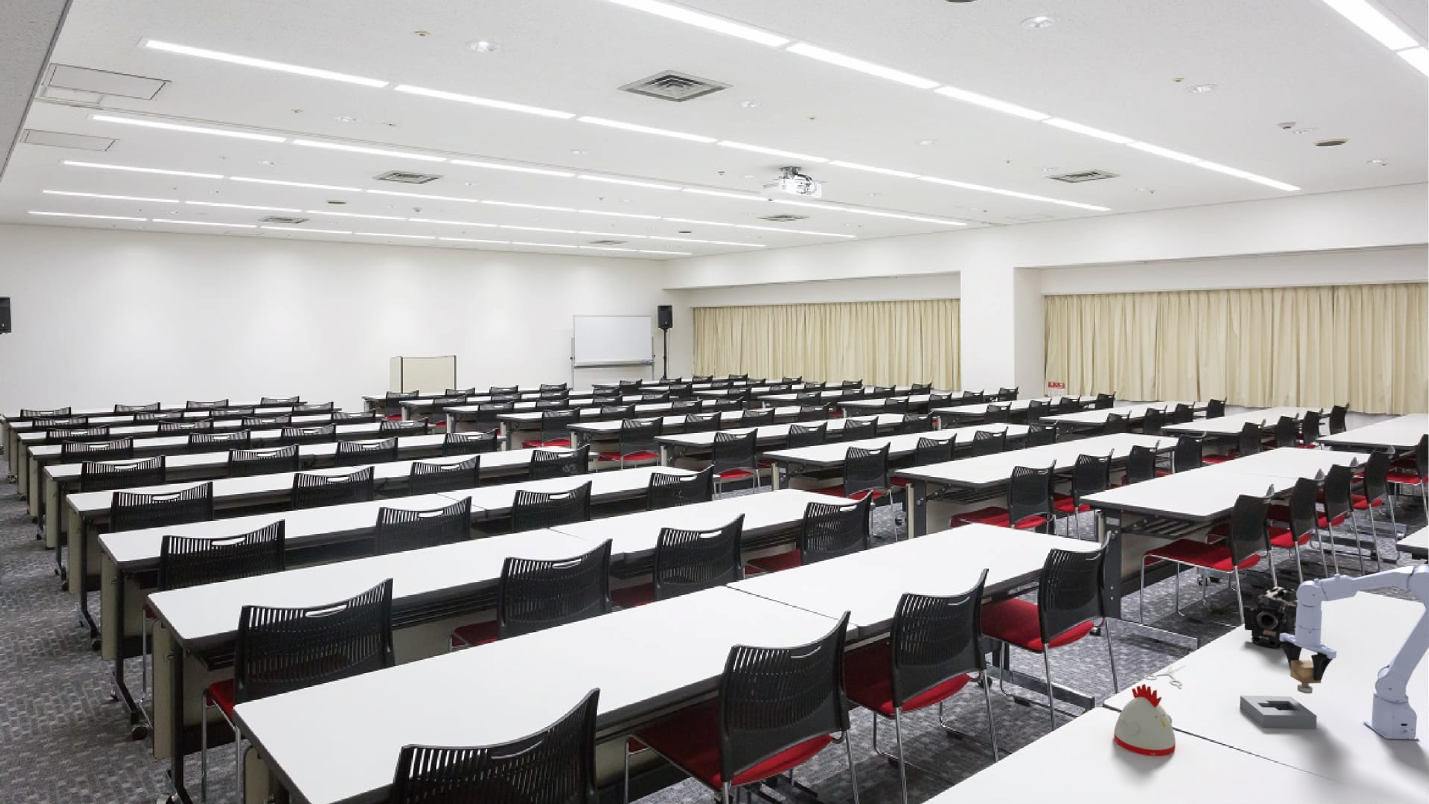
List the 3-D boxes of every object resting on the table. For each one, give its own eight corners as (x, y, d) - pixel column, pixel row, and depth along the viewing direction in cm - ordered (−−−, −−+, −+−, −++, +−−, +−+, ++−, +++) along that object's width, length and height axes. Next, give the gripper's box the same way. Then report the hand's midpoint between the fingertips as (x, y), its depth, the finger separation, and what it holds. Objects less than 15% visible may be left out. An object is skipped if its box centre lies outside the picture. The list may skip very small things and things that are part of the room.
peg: (1320, 694, 242) (1321, 667, 241) (1302, 695, 242) (1303, 667, 241) (1307, 686, 247) (1308, 660, 246) (1289, 687, 247) (1291, 660, 246)
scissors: (1141, 678, 266) (1159, 658, 282) (1141, 681, 266) (1159, 660, 282) (1181, 688, 260) (1197, 666, 275) (1181, 690, 260) (1197, 669, 275)
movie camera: (1298, 655, 281) (1299, 600, 281) (1236, 643, 295) (1236, 590, 294) (1327, 635, 302) (1328, 583, 302) (1267, 625, 315) (1268, 575, 315)
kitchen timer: (1147, 760, 219) (1149, 701, 217) (1102, 736, 231) (1103, 680, 230) (1187, 749, 224) (1190, 690, 223) (1141, 726, 237) (1143, 671, 235)
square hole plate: (1316, 728, 234) (1316, 715, 234) (1263, 727, 235) (1263, 714, 235) (1290, 708, 246) (1290, 696, 246) (1239, 707, 247) (1240, 695, 247)
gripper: (1345, 633, 237) (1342, 683, 238) (1293, 616, 251) (1291, 663, 252) (1326, 636, 235) (1323, 687, 236) (1275, 619, 248) (1272, 667, 250)
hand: (1305, 675), depth 244 cm, fingers closed on peg, 6 cm apart
